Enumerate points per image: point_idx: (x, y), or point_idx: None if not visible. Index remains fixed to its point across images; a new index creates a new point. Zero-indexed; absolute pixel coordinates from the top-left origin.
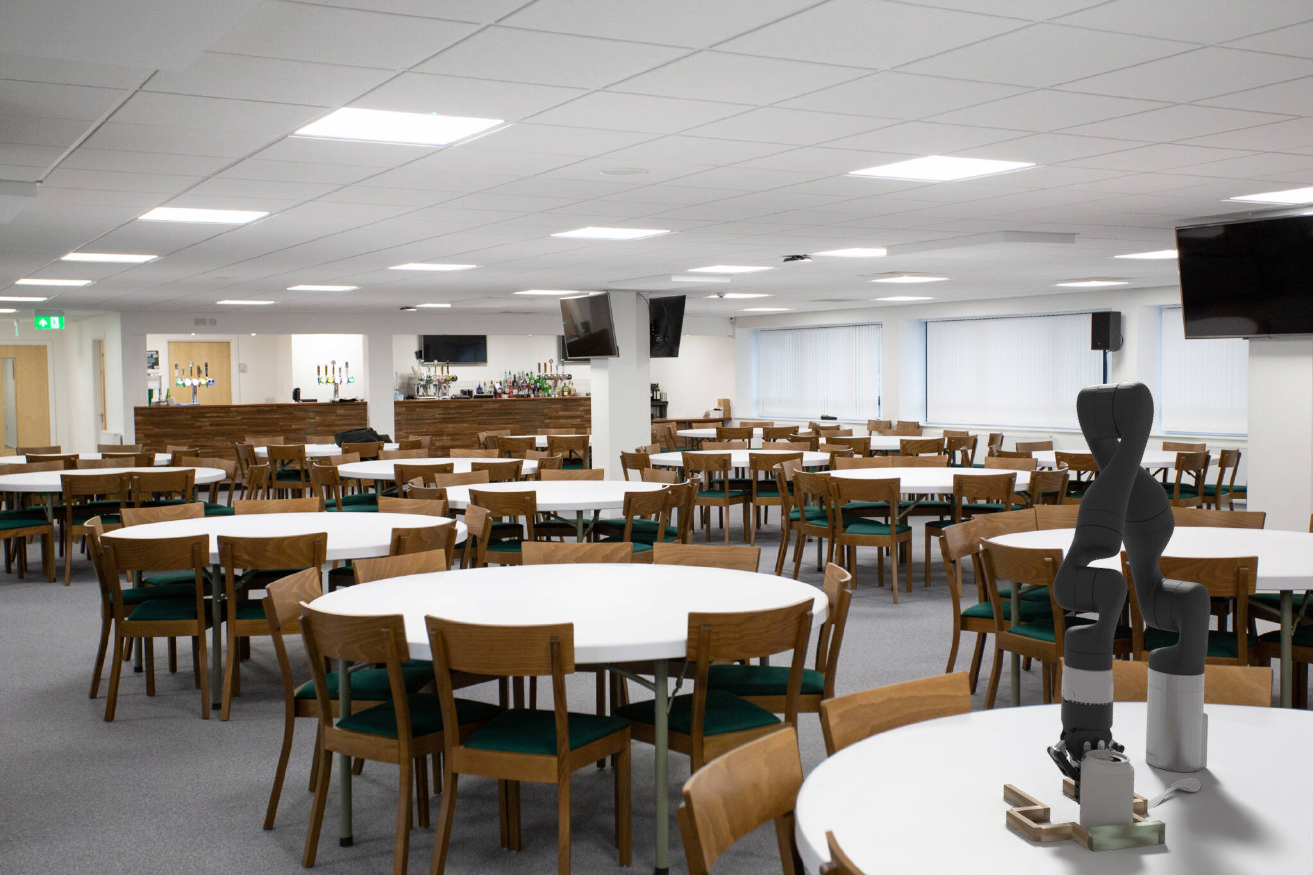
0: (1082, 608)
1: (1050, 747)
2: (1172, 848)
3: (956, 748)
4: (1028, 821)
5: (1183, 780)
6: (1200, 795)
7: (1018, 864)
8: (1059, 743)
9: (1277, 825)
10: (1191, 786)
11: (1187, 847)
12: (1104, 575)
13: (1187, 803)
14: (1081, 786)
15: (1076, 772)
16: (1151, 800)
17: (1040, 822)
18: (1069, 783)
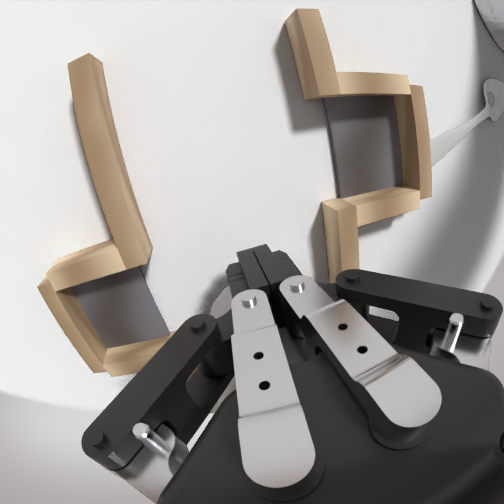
0: None
1: (98, 462)
2: None
3: None
4: (83, 348)
5: (497, 82)
6: (495, 130)
7: (82, 408)
8: (148, 494)
9: (494, 250)
10: (497, 97)
11: None
12: None
13: (475, 158)
14: (218, 400)
15: (225, 385)
16: (442, 139)
17: (121, 278)
18: (304, 38)
